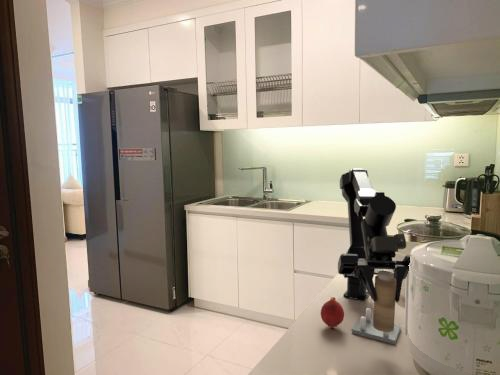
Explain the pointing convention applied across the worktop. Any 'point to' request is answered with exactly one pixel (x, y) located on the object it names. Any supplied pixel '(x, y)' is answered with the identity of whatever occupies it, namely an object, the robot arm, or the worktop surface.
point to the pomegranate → (332, 313)
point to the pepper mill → (384, 301)
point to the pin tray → (366, 329)
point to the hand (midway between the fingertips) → (386, 301)
